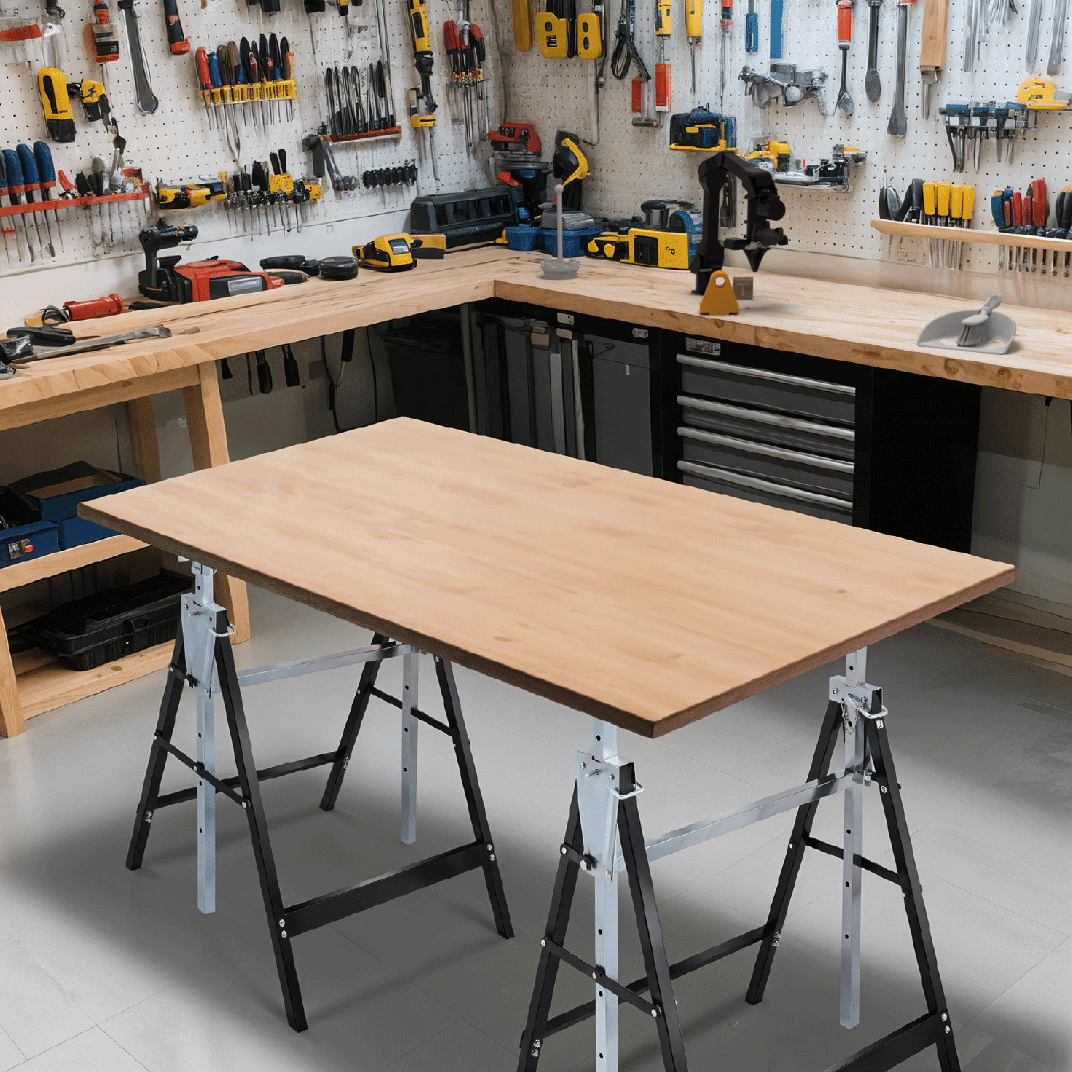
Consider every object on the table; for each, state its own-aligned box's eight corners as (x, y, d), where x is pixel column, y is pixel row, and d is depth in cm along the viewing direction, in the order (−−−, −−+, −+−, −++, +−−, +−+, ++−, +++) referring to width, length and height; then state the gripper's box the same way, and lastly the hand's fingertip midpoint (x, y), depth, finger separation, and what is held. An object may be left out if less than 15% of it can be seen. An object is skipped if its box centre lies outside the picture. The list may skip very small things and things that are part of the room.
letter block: (732, 296, 414) (732, 276, 412) (752, 296, 413) (753, 276, 411) (732, 300, 408) (733, 280, 406) (752, 300, 407) (753, 280, 405)
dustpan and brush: (913, 346, 346) (916, 309, 343) (953, 323, 372) (956, 288, 369) (1005, 356, 334) (1009, 318, 331) (1040, 331, 360) (1044, 295, 357)
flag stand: (586, 278, 449) (585, 184, 438) (550, 281, 444) (548, 187, 433) (570, 272, 460) (569, 181, 449) (534, 275, 455) (532, 183, 445)
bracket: (736, 310, 394) (738, 268, 390) (738, 315, 387) (739, 273, 383) (699, 310, 395) (700, 269, 391) (700, 315, 388) (701, 273, 384)
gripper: (745, 222, 376) (743, 279, 382) (800, 217, 383) (798, 273, 389) (723, 218, 385) (721, 273, 391) (778, 213, 393) (775, 267, 398)
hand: (754, 272), depth 392 cm, fingers closed
